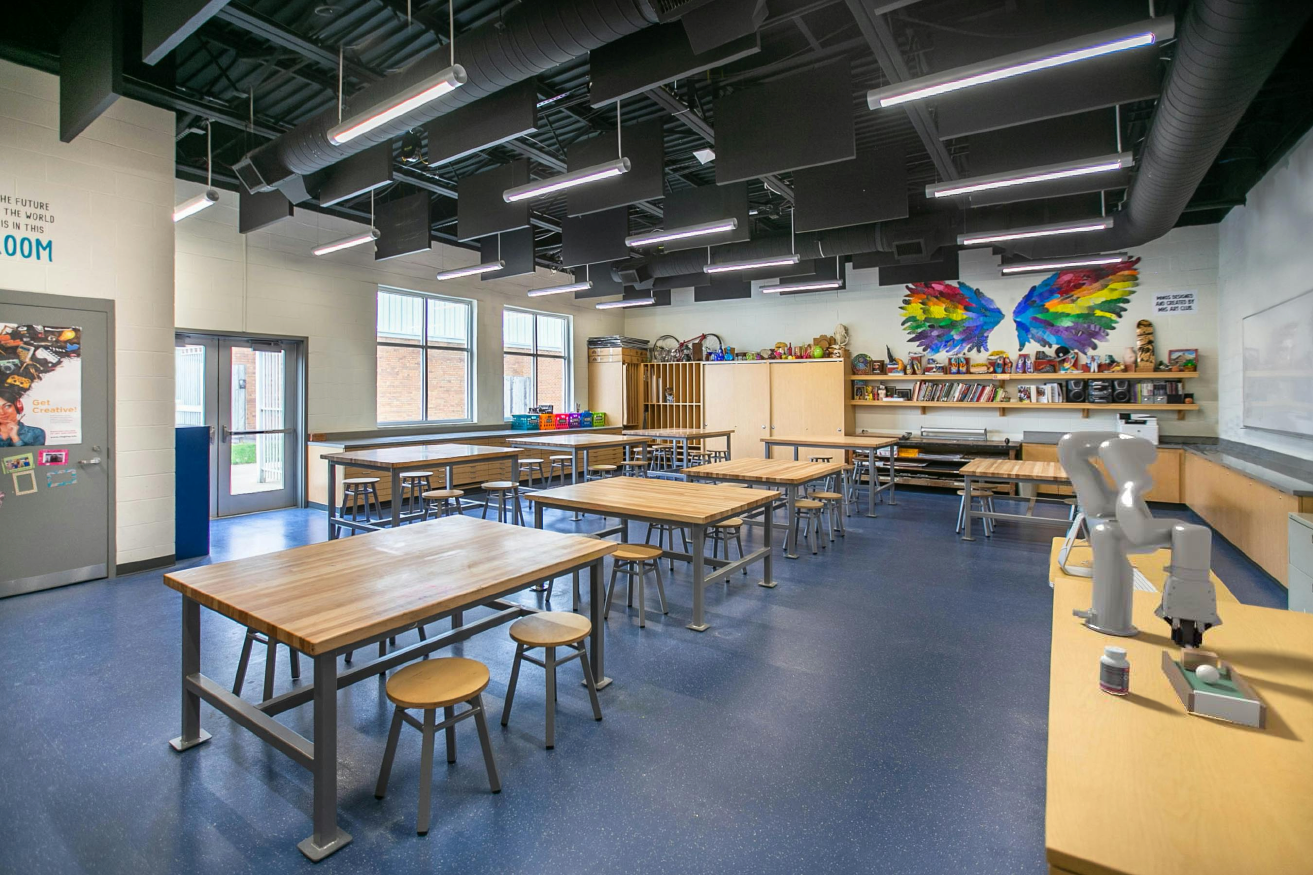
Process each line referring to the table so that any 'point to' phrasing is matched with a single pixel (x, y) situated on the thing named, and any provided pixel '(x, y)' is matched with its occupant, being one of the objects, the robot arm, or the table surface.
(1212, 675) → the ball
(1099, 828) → the table surface
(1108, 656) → the pill bottle
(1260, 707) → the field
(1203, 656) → the striker
